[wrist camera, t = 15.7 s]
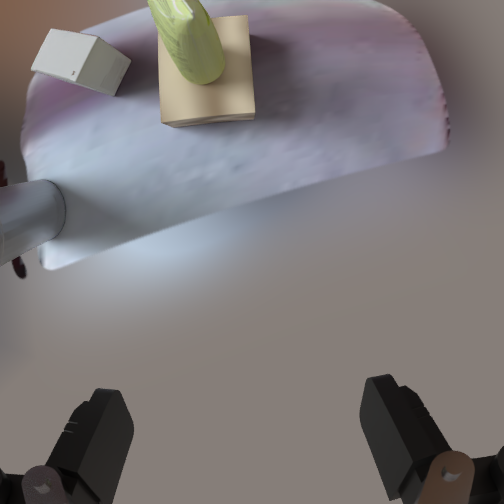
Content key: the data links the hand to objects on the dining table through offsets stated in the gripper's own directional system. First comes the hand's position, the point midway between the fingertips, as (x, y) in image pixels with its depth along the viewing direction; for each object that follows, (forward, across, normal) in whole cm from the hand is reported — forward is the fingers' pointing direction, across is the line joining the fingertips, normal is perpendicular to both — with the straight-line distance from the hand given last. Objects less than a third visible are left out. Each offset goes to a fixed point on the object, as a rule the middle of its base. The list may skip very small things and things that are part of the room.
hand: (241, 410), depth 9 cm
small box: (+32, +18, -22) cm, 43 cm away
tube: (+26, +3, -18) cm, 32 cm away
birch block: (+32, +3, -18) cm, 37 cm away
